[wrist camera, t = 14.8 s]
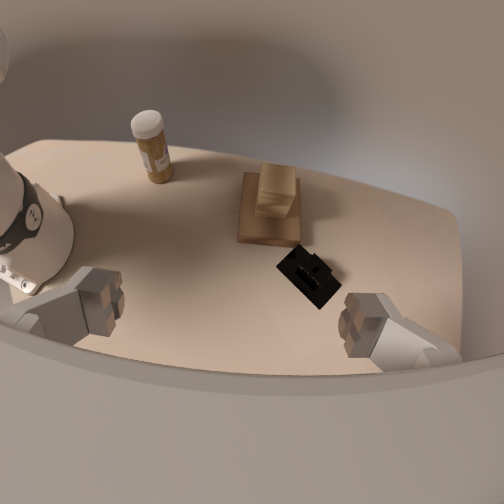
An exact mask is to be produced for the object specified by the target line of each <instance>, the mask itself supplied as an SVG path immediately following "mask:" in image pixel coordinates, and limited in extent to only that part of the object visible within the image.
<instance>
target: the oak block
mask: <svg viewBox="0 0 504 504" xmlns="http://www.w3.org/2000/svg"><path fill="white" fill-rule="evenodd" d="M295 195H296V193H295V167H289V166H281V165H273V164H265V163H262V168H261V172H260V177H259V182H258V187H257V194H256V208H255V216H261V217H271V218H280V219H285V218H286V216H287V213H288V211H289V209H290V206H291V204H292V202H293V200H294V197H295Z"/></svg>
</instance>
